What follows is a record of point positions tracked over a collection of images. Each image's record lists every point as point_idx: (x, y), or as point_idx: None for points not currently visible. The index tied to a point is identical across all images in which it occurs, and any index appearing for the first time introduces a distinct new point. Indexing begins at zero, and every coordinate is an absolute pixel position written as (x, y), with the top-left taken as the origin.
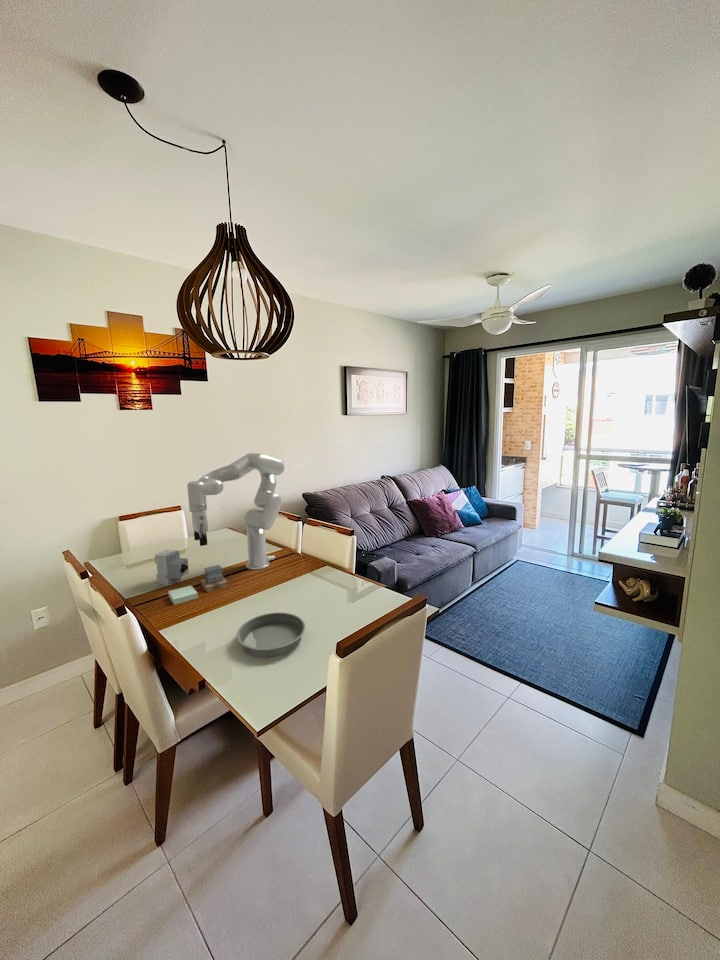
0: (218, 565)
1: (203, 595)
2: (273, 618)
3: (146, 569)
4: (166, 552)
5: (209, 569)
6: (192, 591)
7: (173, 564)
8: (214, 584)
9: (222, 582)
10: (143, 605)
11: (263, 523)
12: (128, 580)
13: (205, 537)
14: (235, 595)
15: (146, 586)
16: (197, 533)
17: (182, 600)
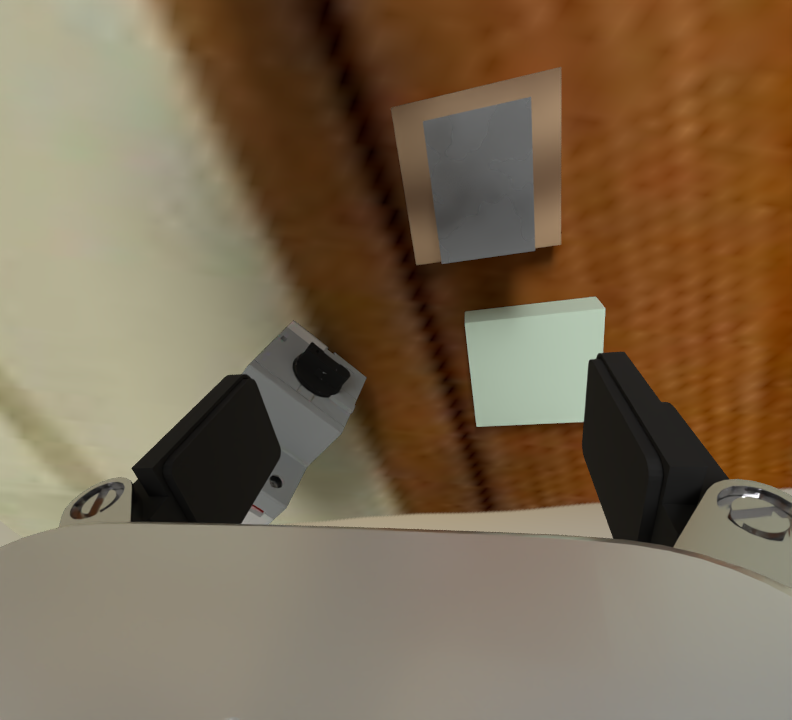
0: (439, 128)
1: (581, 263)
2: None
3: (128, 443)
4: None
5: (494, 227)
6: (563, 330)
7: (325, 448)
8: (544, 186)
9: (547, 119)
10: (506, 491)
11: None
12: None
13: (687, 479)
14: (762, 39)
15: (316, 463)
16: (212, 505)
17: None
